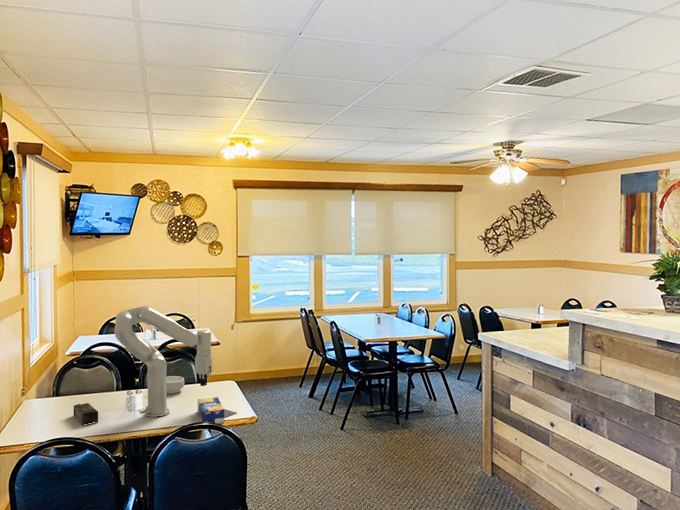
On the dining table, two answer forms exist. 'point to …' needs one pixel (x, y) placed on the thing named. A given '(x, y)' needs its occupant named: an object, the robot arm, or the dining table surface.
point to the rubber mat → (228, 413)
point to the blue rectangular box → (211, 410)
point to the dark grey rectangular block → (85, 413)
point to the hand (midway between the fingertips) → (203, 385)
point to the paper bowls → (174, 384)
